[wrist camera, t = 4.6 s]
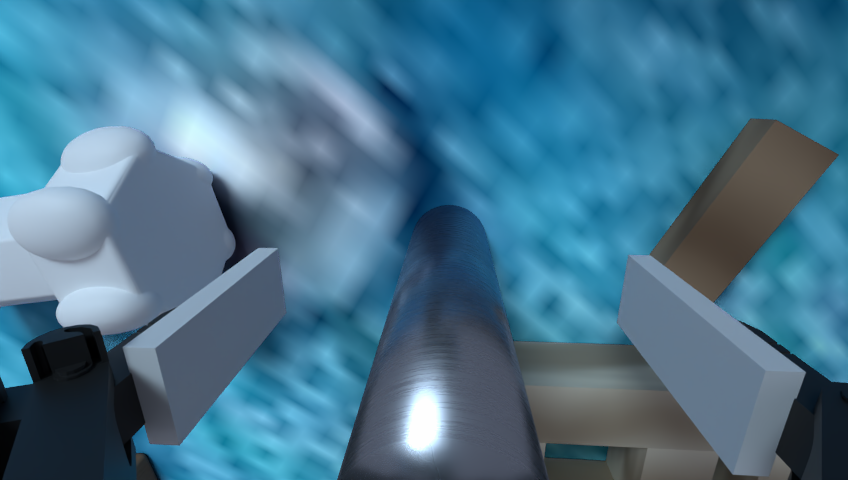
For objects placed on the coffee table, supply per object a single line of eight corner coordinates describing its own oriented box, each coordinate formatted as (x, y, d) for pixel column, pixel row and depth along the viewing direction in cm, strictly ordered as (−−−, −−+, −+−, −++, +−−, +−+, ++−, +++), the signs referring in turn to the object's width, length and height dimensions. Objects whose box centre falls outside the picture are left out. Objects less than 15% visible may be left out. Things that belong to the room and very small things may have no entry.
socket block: (504, 340, 21) (513, 384, 18) (784, 350, 20) (849, 398, 17) (493, 495, 25) (499, 555, 21) (731, 509, 24) (776, 574, 20)
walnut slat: (744, 118, 17) (776, 120, 16) (801, 149, 17) (838, 155, 16) (620, 285, 20) (635, 302, 18) (670, 310, 20) (690, 329, 19)
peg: (411, 204, 19) (318, 433, 6) (487, 205, 19) (572, 446, 6) (412, 273, 20) (337, 597, 7) (484, 275, 20) (547, 613, 7)
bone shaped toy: (19, 303, 23) (-182, 416, 16) (-80, 156, 20) (-394, 214, 12) (261, 274, 22) (163, 386, 14) (200, 108, 18) (29, 142, 11)
